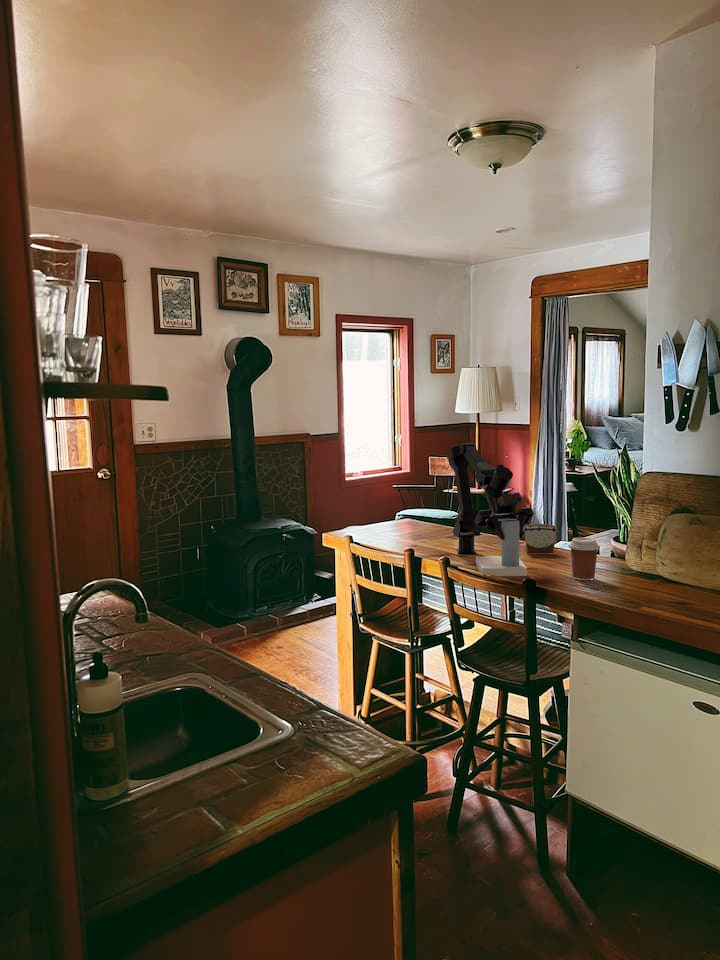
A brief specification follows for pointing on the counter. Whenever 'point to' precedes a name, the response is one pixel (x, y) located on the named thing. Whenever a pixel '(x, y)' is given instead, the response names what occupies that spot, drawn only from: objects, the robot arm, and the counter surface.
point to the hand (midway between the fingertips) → (512, 538)
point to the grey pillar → (510, 543)
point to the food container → (540, 538)
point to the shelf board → (499, 567)
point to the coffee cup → (583, 558)
